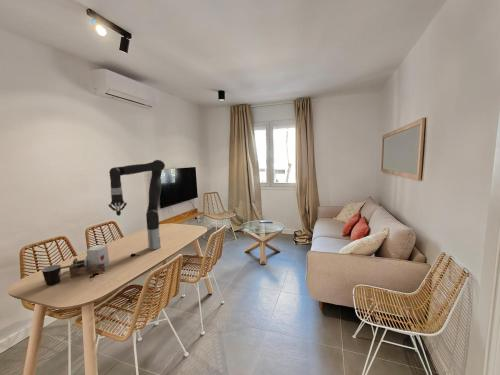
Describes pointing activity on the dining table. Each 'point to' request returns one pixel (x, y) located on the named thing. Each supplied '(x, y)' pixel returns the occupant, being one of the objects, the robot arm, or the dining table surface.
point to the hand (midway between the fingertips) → (118, 215)
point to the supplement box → (98, 255)
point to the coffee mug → (52, 274)
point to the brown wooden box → (84, 269)
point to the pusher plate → (78, 264)
